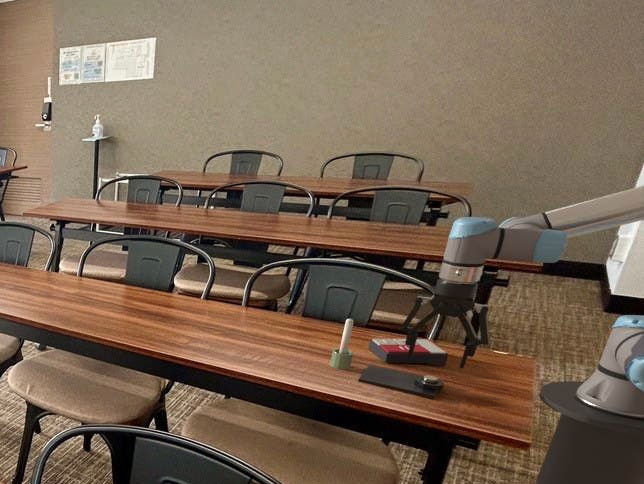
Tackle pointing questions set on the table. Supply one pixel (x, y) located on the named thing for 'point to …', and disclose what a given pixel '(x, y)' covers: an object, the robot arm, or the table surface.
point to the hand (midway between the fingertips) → (435, 361)
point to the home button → (430, 379)
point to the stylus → (346, 336)
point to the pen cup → (341, 360)
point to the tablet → (400, 381)
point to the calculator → (399, 350)
